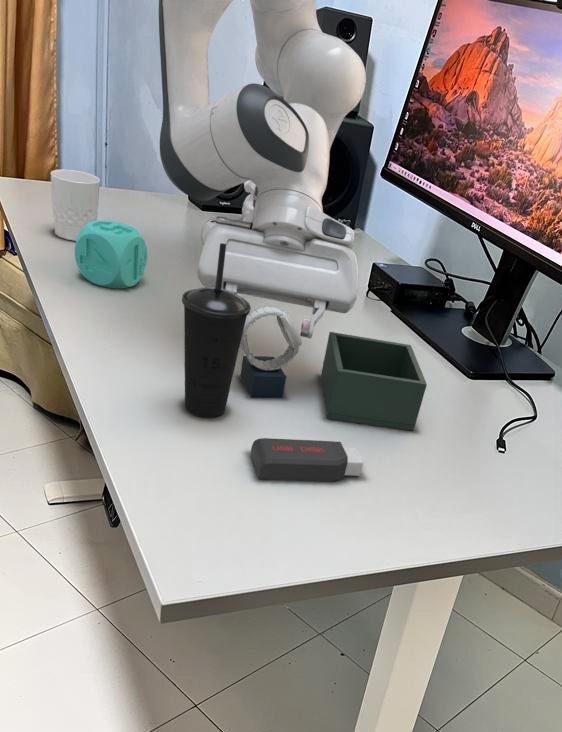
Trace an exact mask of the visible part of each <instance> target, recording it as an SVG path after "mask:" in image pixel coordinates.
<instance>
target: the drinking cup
mask: <svg viewBox="0 0 562 732" xmlns="http://www.w3.org/2000/svg"><path fill="white" fill-rule="evenodd" d="M225 252H226V244H223V243H221V244H220V249H219V258H218V267H217V276H216V285H215V287H204V286H202V287H199V288H193V289H189V290H187V291H185V292H184V293H183V294H182V295H181V303H182V304H183V316H184V317H183V321H184V322H183V324H184V325H183V327H184V329H183V331H184V336H183V338H184V339H183V340H184V408H185V410H186V411H187V412H188V413H189V414H191V415H194V416H196V417H198V418H199V417H200V418H205V419H208V418H209V419H213V418H215V419H216V418H219V417H221V416H223V415H224V413H225V412H226V408H227V404H228V398H229V394H230V390H231V385H232V381H233V379H234V378H233V377H234V374H235V373H234V372H235V368H236V364H237V360H238V356H239V351H240V348H241V345H240V343H241V339H242V334H243V330H244V326H245V321H246V317H247V315H248V314H249V313H250V312H251V310H252V309H251V307H252V306H251V304H250V302H249V301H248V300H247V299H245V298H243V297H242V296H240V295H238V294H237V295H236V294H235V293H233V292H231V291H229V290H226V289H222V288H221V287H222V278H223V270H224V261H225Z"/></svg>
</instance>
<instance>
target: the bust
mask: <svg viewBox="0 0 562 732" xmlns="http://www.w3.org/2000/svg"><path fill="white" fill-rule="evenodd" d="M243 185H244V186H243V189H244V191H245V193H250V194H248V195H247V196H246V197H245V199H244V201H243V205H242V208H241V214H242V215H241V216H242V219H243V218H246V216H247V215H248V214H250V213H251V212H252V210H253V209H254V207H253V199H254V198H253V195H254V192H255V187H256V185H255V184H254V183H253V182H252V181H250V180H249V181H246V182H244V183H243Z"/></svg>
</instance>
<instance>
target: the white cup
mask: <svg viewBox="0 0 562 732" xmlns="http://www.w3.org/2000/svg"><path fill="white" fill-rule="evenodd" d="M100 184H101V179H100V178H99V177H98V176H96V175H94V174H92V173H89V172H85V171H80V170H75V169H74V170H73V169H55V170H54V169H53V170H51V171H50V185H51V186H50V187H51V202H52V204H51V205H52V206H51V207H52V217H53V221H54V234H55V235H56V236H57V237H59V238H61V239H65V240H67V241H73V242H76V240H77V237H78V235H79V233H80V231H81V229H82V228H83V227H84V226H85V225H86V224H87V223H89V222H92V221H98V211H99V199H100V188H101V187H100Z"/></svg>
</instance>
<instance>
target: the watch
mask: <svg viewBox="0 0 562 732" xmlns="http://www.w3.org/2000/svg"><path fill="white" fill-rule="evenodd" d="M269 316H270V317H271V316H276V322H277V324H278V326H279V329H280V331H281V333H282V335H283V337H284V340H285V341H286V343H287V345H288V346H287V349H285V350H284V352H283V353H282V354H280V355H279V356H277V357H275V356H268V355H267V356H263V355H261V356H260V355H254V353H252V352H251V349H250V345H249V341H248V330H249V329H250V327H251V326H252V325H253V324H254V323H256V321H258V320H260V319H262V318H266V317H269ZM300 346H302V340H301V336H300V334H299V331H298V329H297V327H296V324H295V322H294V321H293V318H292V316H291V315H290V313H289V312H288V311H287V309H285V308H284V309H281V308H280V307H278V306H277V305H270V304H265V305H260V306H258V307H255V308H253V309H251V310H250V313H249V314H248V315H247V317H246V321H245V326H244V330H243V334H242V339H241V343H240V348H241V350H242V352H243V353H244V355H242V360H241V367H240V374H239V378H240V380H241V382H242V383H243V386H244V388H245V390H246V392H247V393H248V395H249V397H250V399H251V398H252V399H258V398H259V399H283V398H284V392H285V388H286V382H287V375H286V374H285V372H284V370H283V368H285V367H286V366H288V365H289V364H290V363H291V362H292V361H293V360H294V359H295V357H296V356H297V355H298V354H299V350H300Z"/></svg>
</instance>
